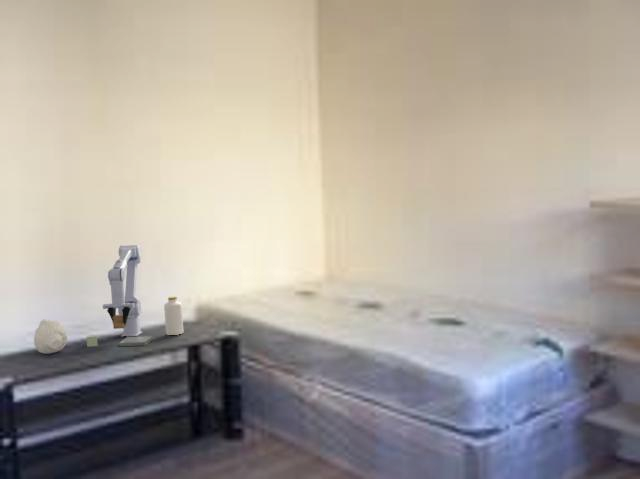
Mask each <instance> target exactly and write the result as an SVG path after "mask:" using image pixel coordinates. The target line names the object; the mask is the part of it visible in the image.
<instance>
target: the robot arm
mask: <svg viewBox="0 0 640 479" xmlns="http://www.w3.org/2000/svg"><path fill="white" fill-rule="evenodd" d="M118 256H119V259H117V260H116V261H115V263H114V265H113V267H112V268H110V270H108V272H107V273H108V274H107V278H108V282H109V285H110V291H111V303H105V304H102V310H106V312H107V313H108V314H109V317H110V319H111V321H112V323H113V316H115V315H117V313H116V312H117V310H118V315H123V320H124V324H126V327H125V328H122V329H123V334H121V336H120V337H122V338H123V337H124V336H126V337H139V335H141V334H142V333H143V330H142V329H141V319H140V317H139V316H140V315H141V314H142V306H141V304H142V303H141V300H140V299H138V297H136V290H137V289H136V287H137V273H138V272H137V271H138V270H137V269H138V265H139V264H140V263H142V262H141V261H142V248H141V245H140V244H134V245H133V244H131V245H130V244H129V245H119V248H118ZM124 281H125V287H124ZM141 330H142V331H141Z"/></svg>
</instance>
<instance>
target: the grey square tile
mask: <svg viewBox="0 0 640 479" xmlns="http://www.w3.org/2000/svg"><path fill="white" fill-rule="evenodd" d="M152 339H153V335H152V336H126V337H125V338H124V339H123V340H121V341H120V342H119V343H118V345H119V347H135V346H136V347H137V346H146V345H147V344H149V343H150V342H152V341H153V340H152Z"/></svg>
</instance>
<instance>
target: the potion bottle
mask: <svg viewBox="0 0 640 479" xmlns="http://www.w3.org/2000/svg"><path fill="white" fill-rule="evenodd" d="M167 300H168V301H167V302H166V303H164V306H163V308H164V320H165V321H164V323H165V324H164V325H165V334H166V335H167V336H169V335H177V336H180V335H179V334H181V335H183V334H184V333H185V331H184V319H183V318H184V317H183V304H182V302H180V301H178V297H177V296H169V297H168V299H167ZM182 333H183V334H182Z"/></svg>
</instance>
